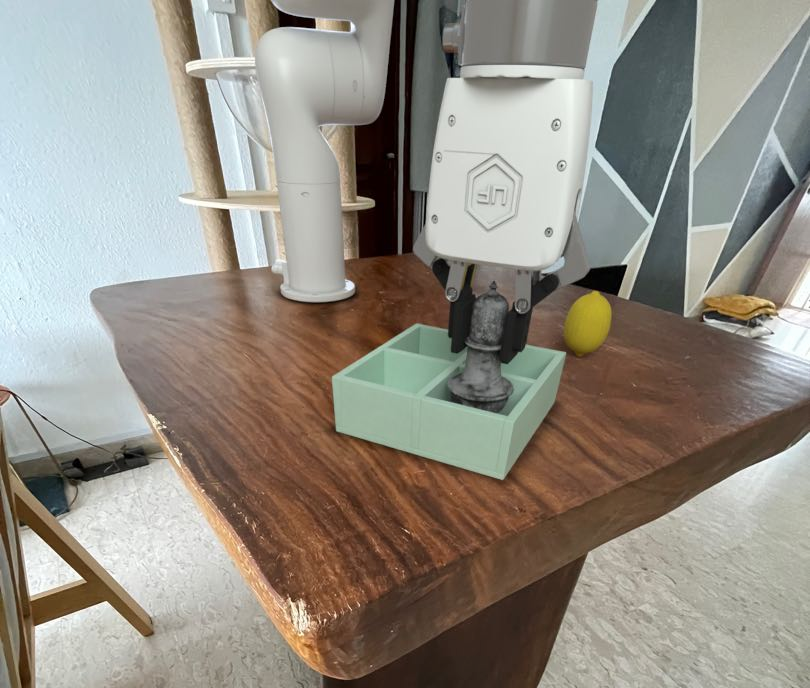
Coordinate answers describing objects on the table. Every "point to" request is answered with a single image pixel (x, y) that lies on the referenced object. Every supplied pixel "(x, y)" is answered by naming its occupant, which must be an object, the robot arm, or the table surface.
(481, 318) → the salt shaker
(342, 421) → the box
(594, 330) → the lemon
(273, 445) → the table surface
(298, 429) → the table surface
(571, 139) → the robot arm
